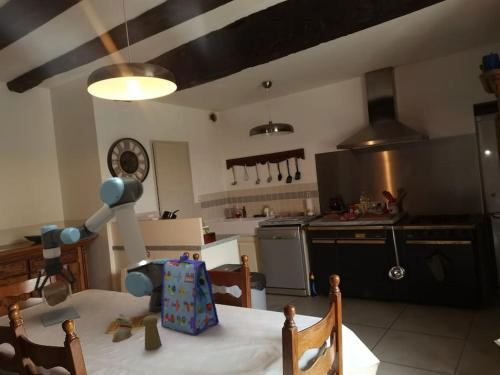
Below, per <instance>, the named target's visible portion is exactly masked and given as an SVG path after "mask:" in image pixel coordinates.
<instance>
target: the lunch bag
mask: <svg viewBox="0 0 500 375" xmlns="http://www.w3.org/2000/svg"><path fill="white" fill-rule="evenodd" d="M160 313H161V314H160V317H161V318H160V319H161V320H160V321H161V324H160V325H161V326H163V327H166V328H169V329H173V330H175V331H179V332H183V333H186V334H187V333H188V334H190V335H194V336H197V335H199V333H201V332H202V331H204V330H206V329H207V328H208V327H212V326H216V325H218V324H219V323H220V321H219V317H218V311H217V306H216V303H215V297H214V293H213V286H212V281H211V278H210V276H209V273H208V270H207V265H206V261H205V260H197V259H190V258H188V254H182V255H180V256H179V258H177V259H176V258H175V259H171V260H166V261H165V263H164V267H163V285H162V309H161V312H160Z"/></svg>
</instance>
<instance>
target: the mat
mask: <svg viewBox="0 0 500 375" xmlns="http://www.w3.org/2000/svg"><path fill="white" fill-rule="evenodd" d="M40 314H41V315H40V318H41V317H42V318H41V320H42V323H43V325H44V327H45V328H47V327H50V326H55V325H56V324H60V323H64V322H63V321H64V320H66V319H72V320H75V319H78V318H81V315H80V314H79V313H78V311H77V310H76V309H75V307H74V306H73V305H70V306H66V307H63V308H58V309H55V310H49V311H47V312H46V311H45V312H42V313H40ZM73 318H74V319H73Z"/></svg>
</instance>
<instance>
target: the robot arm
mask: <svg viewBox="0 0 500 375" xmlns="http://www.w3.org/2000/svg"><path fill="white" fill-rule="evenodd" d="M143 194H144V185H143V183H142V182H141V181H140V179H138V178H136V177H134V176H133V177H132V176H120V177H119V176H118V177H117V176H115V177H111V178H110V177H109V178H107V179H105V180H103V182H102V184H101V185H100V187H99V199H100V200H101V201H102V203H104V205H103V206H102V207H101V208H99V209H98V210H97V211H96V212H95V213H94V214H93V215H91V217H90V218H88V219H87V220H86V221H84V222H83V223H82V224H80V225H75V226H69V227H64V228H59V227H58V225H57V224H52V225H51V224H50V225H45V226H41V227H40V239H41V240H40V241H41V245H42V246H41V247H42V253H43V258H44V259H43V263H44V268H43V269H38V270H37V277H36V281H35V285H34V288H33V289H34V292H38V294H39V298H40V299H42V304H43V305H46V299H45V297H44V290H42V289H43V287H45V286H46V285H47V282H48V280H49V279H50V277H53V276H59V275H61V276H62V278H63V279H64V280H65V281H66V282H68V284H67V287H68V290H69V296H68V297H69V298H70V299H72V298H73V294H72V291H74V283H76V282H77V279H76V277H75V276H74V273H73V272H72V270H71V268H70V264H68V263H66V264H63V261H62V256H61V255H62V254H61V245H72V244H75V243H77V242H80V241H83V240H89V239H92V238H93V237H94V238H95V237H96V236H97V235H98V233H99V231H100V230H101V228H103V227H104V226H106V225H107V224H109V222H110V221H111V220H113V219H114V218H115V221H116V224H117V227H118V231H119V234H120V237H121V241H122V245H123V248H124V252H125V255H126V259H127V262H128V265H127V267H126V272H127V275H126V276H125V278H124V279H125V280H124V286H125V289H126V291H127V292H128V293H129V294H130V295H132V297H136V298H144V297H146V296H148V295H150V298H149V303H148V309H149V311H150V312H152V313H161V309H162V285H163V267H164V263H165V261H166V260H172V258H156V259H150V258H149V257H148V256H149V255H148V254H147V253H148V252H147V249H146V246H145V243H144V239H143V236H142V231H141V228H140V226H139V221H138V218H137V215H136V210H135V206H136V205H137V201H139V200H140V199H141V198H142V196H143ZM63 269H65V270H66V271H67V272H68V275H69V276H70V278H71V279H72V280H71V279H70V278H69V277H68V276H67V275H66V274H65V273H64V272H63ZM44 273H45V274H46V275H45V277H44V278H43V281H42V282H41V284H40V281H41V278H42V275H43V274H44Z"/></svg>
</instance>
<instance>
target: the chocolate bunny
mask: <svg viewBox="0 0 500 375" xmlns="http://www.w3.org/2000/svg"><path fill="white" fill-rule="evenodd" d="M115 321H116V322H118V324H119V326H118V327H117V328H116V329H115V330H114V332H113V336H112V339H111V341H112V343H114V342H120V341H121V342H122V341H124V340H127V339H129V338H130V337H131V336H132V335H133V334H132V329H133V326H132V325H133V321H132V318H131V317H128V316H125V315H124V314H123V313H121V312H118V315H117V316H116V318H115Z"/></svg>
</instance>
